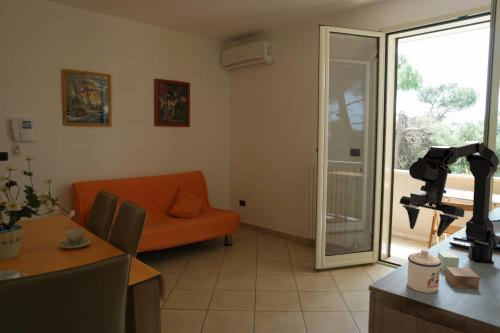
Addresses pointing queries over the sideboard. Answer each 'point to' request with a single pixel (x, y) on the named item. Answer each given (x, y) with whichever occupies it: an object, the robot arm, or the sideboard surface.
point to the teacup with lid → (423, 272)
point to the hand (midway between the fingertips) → (424, 232)
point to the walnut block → (462, 277)
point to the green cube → (448, 260)
